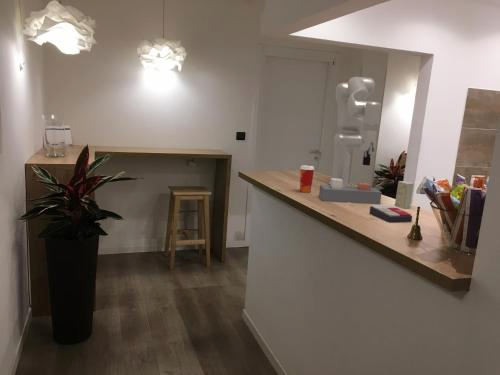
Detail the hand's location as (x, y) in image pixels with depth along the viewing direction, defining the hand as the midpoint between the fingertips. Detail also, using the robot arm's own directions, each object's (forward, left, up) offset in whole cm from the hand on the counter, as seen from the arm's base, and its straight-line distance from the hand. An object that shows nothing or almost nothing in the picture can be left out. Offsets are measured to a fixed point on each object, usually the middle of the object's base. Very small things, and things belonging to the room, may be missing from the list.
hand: (366, 164), depth 206 cm
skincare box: (+10, +17, -18) cm, 27 cm away
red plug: (+1, 0, -16) cm, 16 cm away
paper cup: (-14, -27, -18) cm, 36 cm away
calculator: (+33, +3, -19) cm, 38 cm away
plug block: (+1, -7, -18) cm, 19 cm away
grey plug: (+1, -14, -15) cm, 20 cm away
